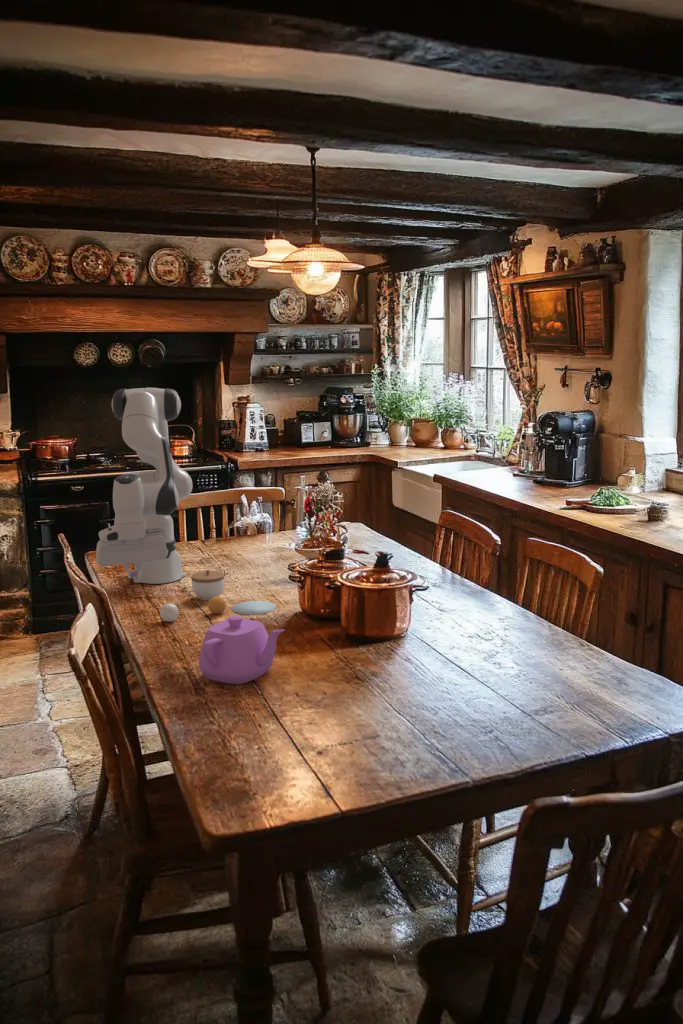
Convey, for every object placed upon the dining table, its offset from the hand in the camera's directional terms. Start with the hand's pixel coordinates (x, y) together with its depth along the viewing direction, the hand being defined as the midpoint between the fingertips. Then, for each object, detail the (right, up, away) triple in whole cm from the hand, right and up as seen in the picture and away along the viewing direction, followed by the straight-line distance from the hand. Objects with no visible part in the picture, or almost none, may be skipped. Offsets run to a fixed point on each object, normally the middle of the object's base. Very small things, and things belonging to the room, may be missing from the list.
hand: (133, 577), depth 251 cm
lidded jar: (+17, -9, +31) cm, 37 cm away
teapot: (+35, -22, -36) cm, 55 cm away
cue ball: (+9, -11, +7) cm, 16 cm away
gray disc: (+33, -11, +19) cm, 40 cm away
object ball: (+23, -10, +13) cm, 28 cm away
